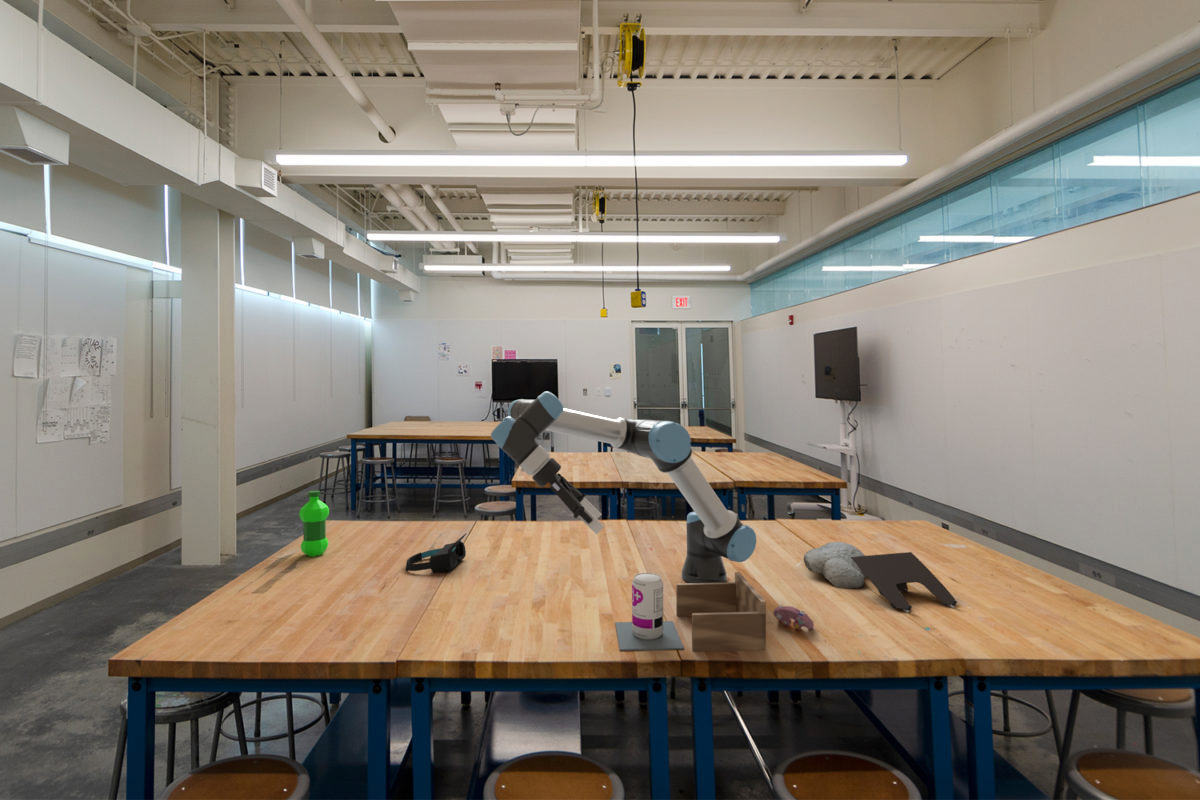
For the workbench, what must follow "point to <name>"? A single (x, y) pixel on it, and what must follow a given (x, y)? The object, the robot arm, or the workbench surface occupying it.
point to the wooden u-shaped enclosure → (723, 615)
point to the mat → (664, 642)
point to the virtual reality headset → (439, 558)
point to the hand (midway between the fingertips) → (599, 523)
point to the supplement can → (647, 606)
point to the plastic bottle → (314, 525)
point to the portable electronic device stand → (901, 577)
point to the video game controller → (793, 617)
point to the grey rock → (836, 564)
